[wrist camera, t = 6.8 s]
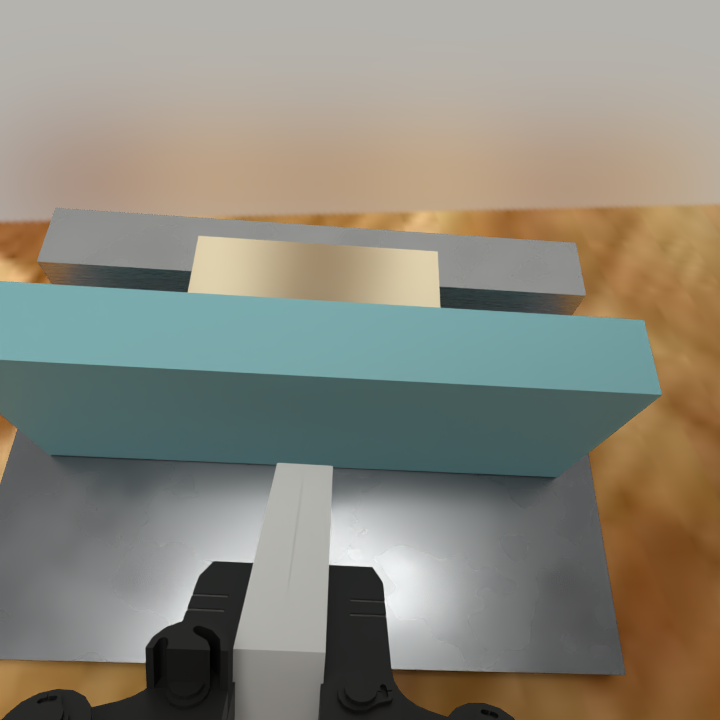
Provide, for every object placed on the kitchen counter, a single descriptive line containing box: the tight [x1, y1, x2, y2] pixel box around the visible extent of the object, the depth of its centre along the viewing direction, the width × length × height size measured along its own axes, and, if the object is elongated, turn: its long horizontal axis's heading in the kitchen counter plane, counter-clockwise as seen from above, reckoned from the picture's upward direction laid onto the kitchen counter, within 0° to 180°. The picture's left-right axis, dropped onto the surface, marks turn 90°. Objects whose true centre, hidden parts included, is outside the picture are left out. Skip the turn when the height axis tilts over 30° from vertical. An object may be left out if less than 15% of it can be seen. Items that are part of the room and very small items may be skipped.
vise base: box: [0, 208, 625, 675], centre depth 22 cm, size 23×16×6 cm
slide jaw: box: [0, 281, 662, 477], centre depth 20 cm, size 20×2×8 cm, turn 89°
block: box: [188, 236, 441, 308], centre depth 22 cm, size 8×3×7 cm, turn 89°
